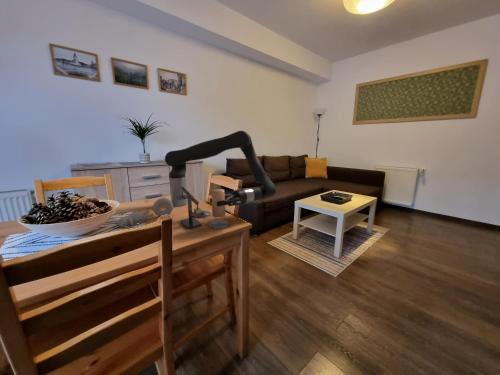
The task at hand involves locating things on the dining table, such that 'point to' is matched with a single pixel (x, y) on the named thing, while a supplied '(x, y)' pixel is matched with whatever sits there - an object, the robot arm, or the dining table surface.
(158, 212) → the donut
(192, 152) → the robot arm
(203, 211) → the dish high side
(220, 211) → the tan round cylinder
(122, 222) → the bunny figurine
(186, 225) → the balance
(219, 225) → the dish low side
